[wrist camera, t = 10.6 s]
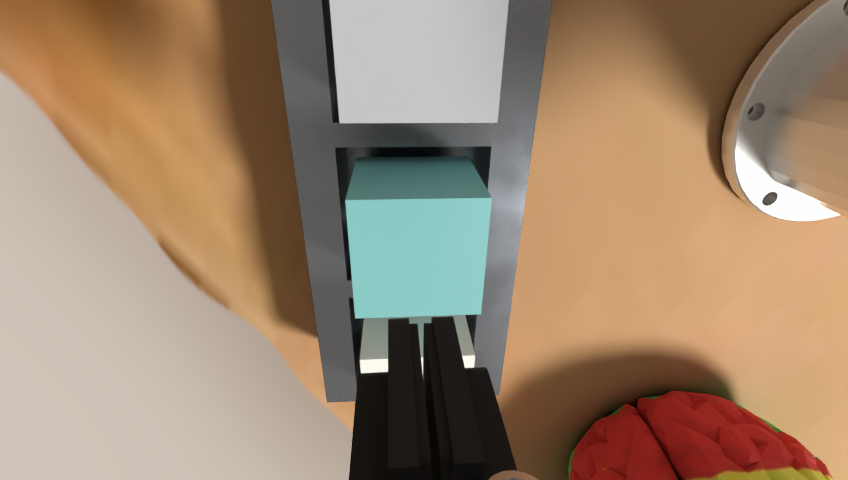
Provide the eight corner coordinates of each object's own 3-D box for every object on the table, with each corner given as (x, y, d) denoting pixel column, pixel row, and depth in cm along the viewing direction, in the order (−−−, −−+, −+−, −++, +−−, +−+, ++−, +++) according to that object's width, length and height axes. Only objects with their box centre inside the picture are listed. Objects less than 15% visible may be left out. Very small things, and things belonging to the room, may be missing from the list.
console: (525, -73, 18) (565, -102, 14) (483, 341, 28) (499, 394, 24) (287, -80, 17) (254, -113, 13) (336, 346, 28) (327, 402, 24)
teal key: (468, 156, 19) (492, 197, 14) (462, 252, 21) (481, 314, 17) (356, 157, 18) (345, 200, 14) (363, 255, 21) (355, 318, 16)
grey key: (479, -44, 15) (515, -71, 11) (471, 97, 18) (497, 122, 13) (343, -47, 15) (322, -76, 11) (353, 97, 17) (339, 123, 13)
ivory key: (459, 289, 22) (475, 355, 18) (454, 359, 25) (468, 432, 20) (366, 292, 22) (359, 359, 18) (370, 362, 24) (366, 437, 20)
